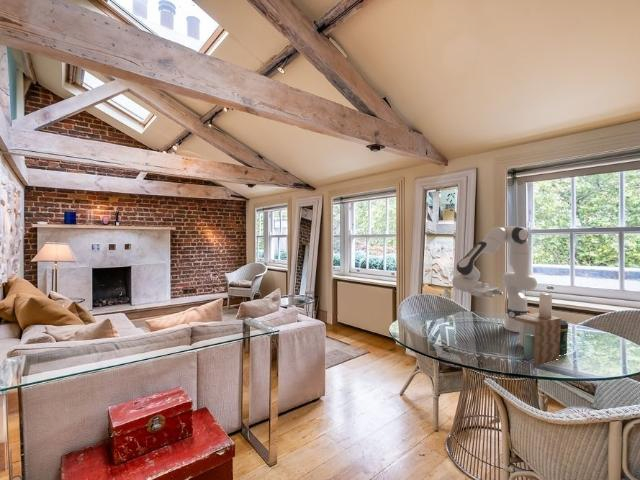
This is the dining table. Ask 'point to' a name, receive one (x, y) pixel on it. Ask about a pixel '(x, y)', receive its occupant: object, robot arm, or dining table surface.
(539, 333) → the walnut counter
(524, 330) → the milk carton
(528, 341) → the sage green cylinder
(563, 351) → the coffee jar
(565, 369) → the dining table surface
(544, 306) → the white glossy cylinder
